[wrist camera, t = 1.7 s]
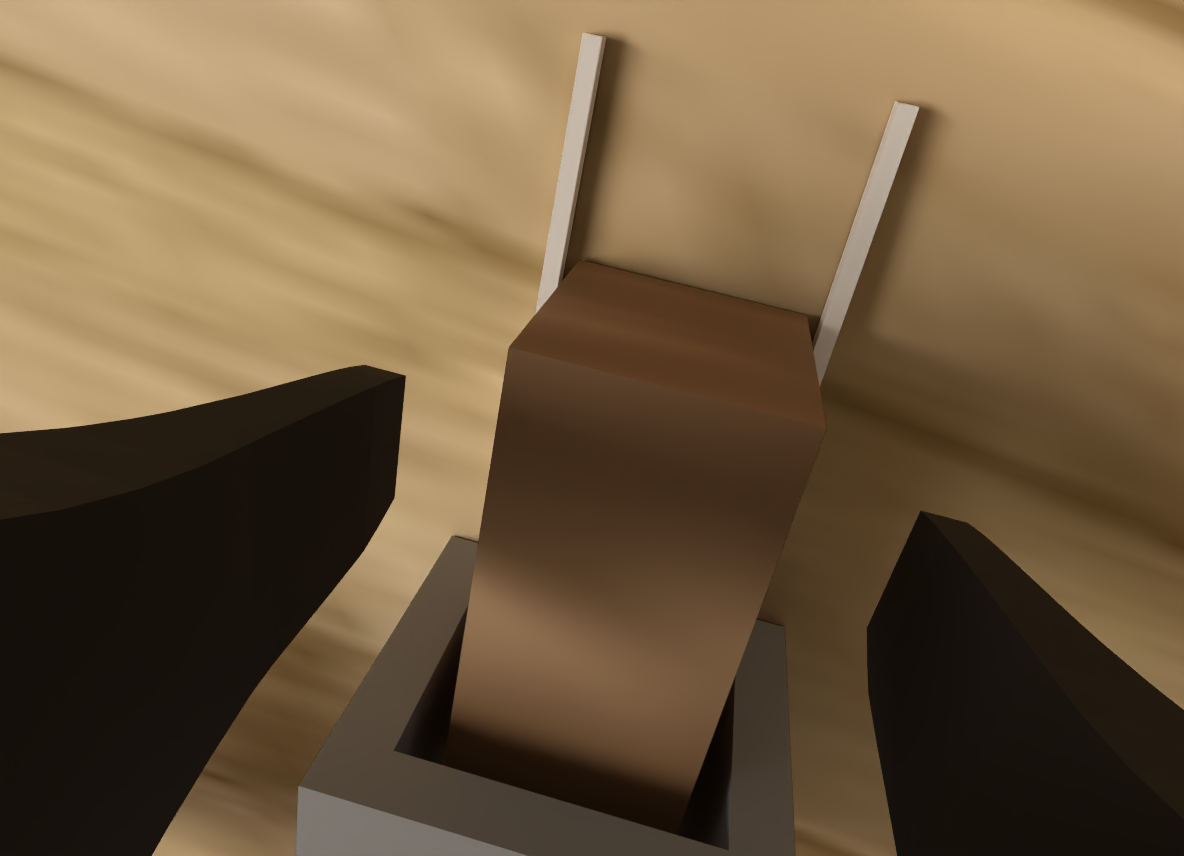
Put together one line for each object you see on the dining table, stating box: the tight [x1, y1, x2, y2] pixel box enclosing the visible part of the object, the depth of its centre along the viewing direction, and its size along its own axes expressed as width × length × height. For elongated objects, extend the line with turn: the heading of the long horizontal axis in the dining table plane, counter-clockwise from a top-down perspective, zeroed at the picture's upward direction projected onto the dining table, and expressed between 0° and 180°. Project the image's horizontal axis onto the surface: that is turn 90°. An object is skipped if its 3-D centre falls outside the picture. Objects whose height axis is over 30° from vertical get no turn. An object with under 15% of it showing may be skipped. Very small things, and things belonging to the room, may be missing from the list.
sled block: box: [443, 260, 827, 835], centre depth 15 cm, size 14×4×4 cm, turn 169°
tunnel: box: [296, 33, 919, 856], centre depth 14 cm, size 18×7×6 cm, turn 169°
